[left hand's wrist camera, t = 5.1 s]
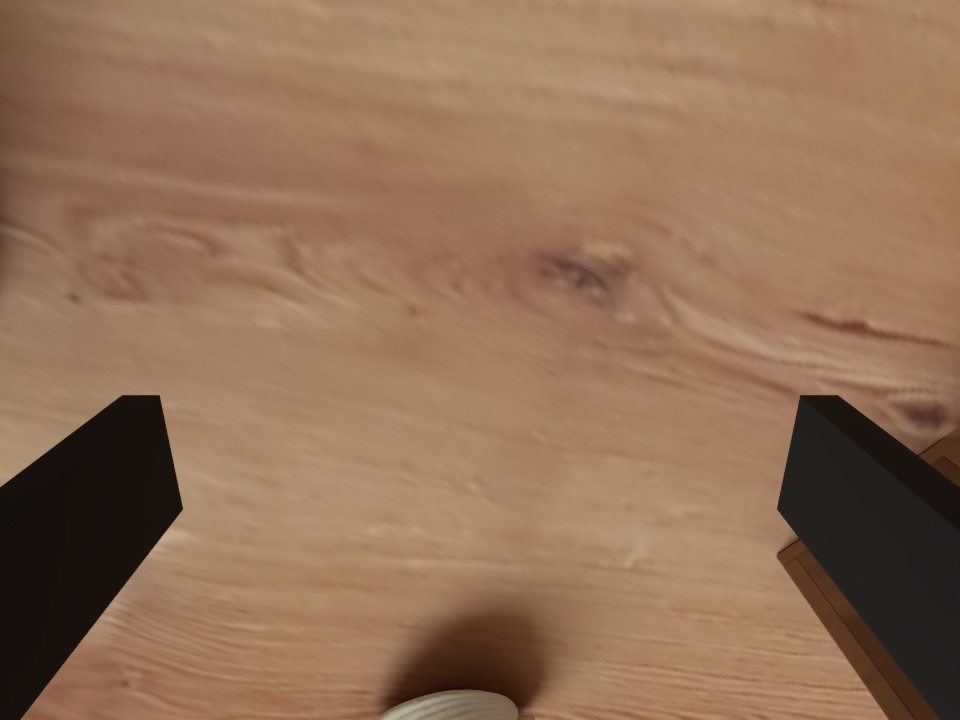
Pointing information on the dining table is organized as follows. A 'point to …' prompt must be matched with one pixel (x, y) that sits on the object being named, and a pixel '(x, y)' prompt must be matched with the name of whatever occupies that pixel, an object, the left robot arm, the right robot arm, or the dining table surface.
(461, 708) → the seashell
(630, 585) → the dining table surface
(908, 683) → the chest
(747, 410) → the dining table surface
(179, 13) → the dining table surface
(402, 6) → the dining table surface
